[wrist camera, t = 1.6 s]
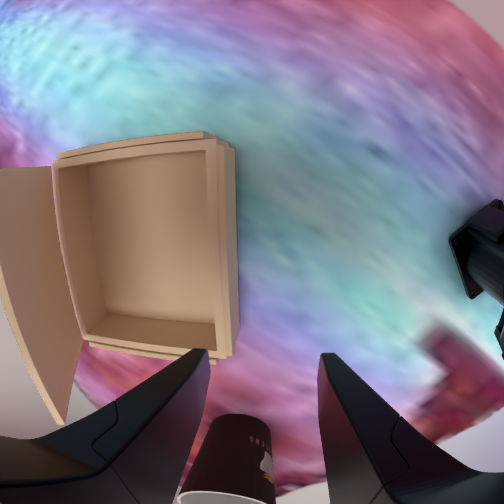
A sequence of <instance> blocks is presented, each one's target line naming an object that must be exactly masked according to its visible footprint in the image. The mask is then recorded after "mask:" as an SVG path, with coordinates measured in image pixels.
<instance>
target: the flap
mask: <svg viewBox="0 0 504 504" xmlns="http://www.w3.org/2000/svg"><path fill="white" fill-rule="evenodd" d="M0 296H1V300H2V303H3V306H4V310H5V313H6V315H7V318H8V321H9V324H10V327H11V330H12V332H13V335H14V337H15V340H16V343H17V345H18V347H19V350H20V352H21V355H22V357H23V359H24V362H25V364H26V366H27V368H28V370H29V372H30V375H31V377H32V379H33V381H34V383H35V385H36V387H37V389H38V391H39V393H40V394H41V396H42V398H43V400H44V402H45V404H46V405H47V407H48V409H49V411H50V412H51V414H52V416H53V418H54V419H55V421H56V423H57V424H59V425H61V424H62V425H63V424H64V425H65V422H66V416H67V410H68V405H69V399H70V394H71V389H72V384H73V380H74V375H75V371H76V367H77V363H78V358H79V354H80V351H81V347H82V343H83V339H82V335H81V332H80V329H79V326H78V322H77V319H76V315H75V312H74V308H73V304H72V300H71V296H70V292H69V288H68V284H67V279H66V275H65V270H64V265H63V260H62V255H61V249H60V243H59V237H58V230H57V223H56V215H55V207H54V197H53V185H52V169H51V166H45V167H22V168H5V169H0Z"/></svg>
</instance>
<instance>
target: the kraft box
mask: <svg viewBox="0 0 504 504" xmlns="http://www.w3.org/2000/svg"><path fill="white" fill-rule="evenodd" d="M57 159H60V160H55V161H52V169H53V185H54V196H55V206H56V215H57V223H58V230H59V237H60V243H61V249H62V254H63V260H64V265H65V270H66V275H67V279H68V284H69V288H70V292H71V296H72V300H73V304H74V308H75V312H76V315H77V319H78V322H79V326H80V329H81V332H82V336H83V339H85V340H90V342H89V344H90V346H91V347H96V348H101V349H106V350H111V351H116V352H122V353H128V354H134V355H140V356H146V357H153V358H160V359H167V360H177V359H178V358H180V357H181V356H183V355H184V354H186V353H187V352H189V351H190V350H191V349H193V348H204V349H207V350H208V354H209V362H210V364H213V365H217V362H218V358H222V359H227V356H233V352H234V348H235V344H236V340H237V337H238V333H239V329H240V317H239V289H238V258H237V222H236V179H235V148H232V147H229V143H228V142H225V141H222V140H219V139H218V136H215V135H212V134H209V133H207V132H204V131H198V132H186V133H176V134H166V135H158V136H150V137H142V138H135V139H128V140H122V141H116V142H110V143H104V144H99V145H94V146H89V147H84V148H79V149H74V150H70V151H65V152H61V153H57Z"/></svg>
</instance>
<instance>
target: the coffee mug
mask: <svg viewBox="0 0 504 504" xmlns="http://www.w3.org/2000/svg"><path fill="white" fill-rule="evenodd" d="M177 501H178V503H179V504H276V499H275V486H274V473H273V461H272V448H271V436H270V430H269V428H268V426H267V425H266V424H265V423H263V422H262V421H261V420H259V419H257V418H254V417H251V416H247V415H242V414H228V415H223V416H220V417H218V418H216V419H215V420H214V421H213V422H212V424H211V426H210V428H209V430H208V433H207V435H206V437H205V439H204V441H203V444H202V446H201V448H200V450H199V452H198V454H197V457H196V459H195V461H194V463H193V465H192V467H191V469H190V472H189V474H188V476H187V478H186V480H185V482H184V484H183V486H182V488H181V491H180V493H179V495H178V497H177Z"/></svg>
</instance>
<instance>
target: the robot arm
mask: <svg viewBox="0 0 504 504" xmlns="http://www.w3.org/2000/svg"><path fill="white" fill-rule="evenodd" d="M498 203H499V206H498ZM455 239H456V242H455V243H454V240H455ZM449 244H450V247H451V249H452V252H453V255H454V257H455V260H456V263H457V266H458V269H459V272H460V275H461V278H462V281H463V284H464V287H465V290H466V294H467V296H468V297H469V298H470V299H474V298H475V297H477V296H478V295H479V294H480V293H482V292H483V291H484V290H485V291H486V292H487V293H488V294H490V295H491V296H492V297H493V298H495V299H496V300H497V301H498V302H499V303H501V304H502V305H503V306H504V205H503V202H502V201H501V200H499V199H496V200H494V201H493V202H492V203H491V204H490V205H489V206H485V207H484V208H483V209H482V210H480V211H479V212H478V213H477V214H476V215H474V216H473V217H472V218H471V219H469V220H468V221H467V224H465V225H464V226H463V227H462V228H460V229H459V230H458V231H456V232H455V233H454V234H453V235H451V237H450V239H449ZM472 292H473V293H472ZM494 334H495V336H496V338H497V340H498V342H499V345H500V347H501V349H502V352H503V353H502V357H503V359H504V308H503V312H502V315H501V318H500V321H499V324H498V325H497V326H496V329H495V332H494ZM209 379H210V362H209V354H208V350H207V349H204V348H193V349H191V350H190V351H189V352H187V353H186V354H184V355H183V356H181V357H180V358H178V359H177V360H175V361H174V362H172V363H171V364H169V365H168V366H166V367H165V368H163V369H162V370H160V371H159V372H157V373H156V374H154V375H153V376H151V377H150V378H148V379H147V380H145V381H144V382H142V383H141V384H139V385H137V386H136V387H134V388H133V389H131V390H130V391H128V392H127V393H125V394H123V395H122V396H120V397H119V398H117V399H116V401H112V402H111V403H109V404H107V405H106V406H104V407H102V408H101V409H99V410H97V411H96V412H94V413H92V414H91V415H88V416H86V417H85V418H82V419H80V420H78V421H76V422H74V423H72V424H70V425H68V426H66V427H63V428H61V429H59V430H56V431H54V432H52V433H50V434H47V435H45V436H43V437H39V438H35V439H17V438H11V437H5V436H0V504H172V502H173V500H174V497H175V494H176V491H177V488H178V486H179V483H180V480H181V477H182V474H183V471H184V468H185V465H186V462H187V460H188V457H189V454H190V451H191V448H192V445H193V442H194V439H195V436H196V433H197V431H198V428H199V425H200V422H201V418H202V415H203V410H204V405H205V400H206V395H207V390H208V384H209ZM317 384H318V417H319V428H320V435H321V441H322V447H323V454H324V461H325V468H326V475H327V482H328V489H329V497H330V504H504V472H501V473H488V472H480V471H476V470H473V469H471V468H469V467H467V466H466V465H464V464H462V463H461V462H460V461H458V460H457V459H455V458H454V457H452V456H451V455H449V454H448V453H446V452H445V451H444V450H442V449H441V448H439V447H438V446H437V445H435V444H434V443H433V442H431V441H430V440H429V439H427V438H426V437H425V436H423V435H422V434H421V433H420V432H419V431H417V430H416V429H415V428H414V427H413V426H412V425H411V424H409V423H408V422H407V421H406V420H405V419H404V418H403V417H402V416H400V414H399V413H397V412H396V411H395V410H394V409H393V408H392V407H391V406H390V405H389V404H388V403H387V402H386V401H385V400H384V399H383V398H382V397H380V396H379V395H378V394H377V393H376V392H375V391H374V390H373V389H372V388H371V387H370V386H369V385H368V384H367V383H366V382H365V381H364V380H363V379H362V378H361V377H359V376H358V375H357V374H356V373H355V372H354V371H353V370H352V369H351V368H350V367H349V366H348V365H347V364H346V363H345V362H344V361H343V360H342V359H341V358H340V357H339V356H338V355H337V354H335V353H322V354H321V355H320V362H319V369H318V376H317ZM399 416H400V417H399Z"/></svg>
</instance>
